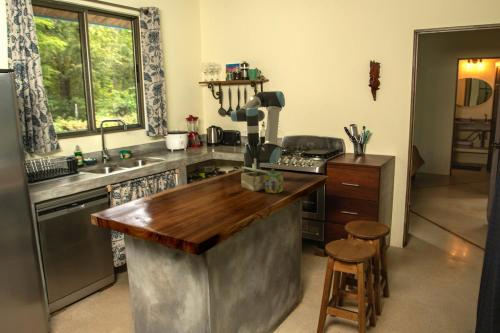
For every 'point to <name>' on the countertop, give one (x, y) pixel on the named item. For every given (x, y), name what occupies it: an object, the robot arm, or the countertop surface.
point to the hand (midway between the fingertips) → (254, 168)
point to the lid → (255, 170)
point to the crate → (253, 181)
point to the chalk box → (273, 182)
